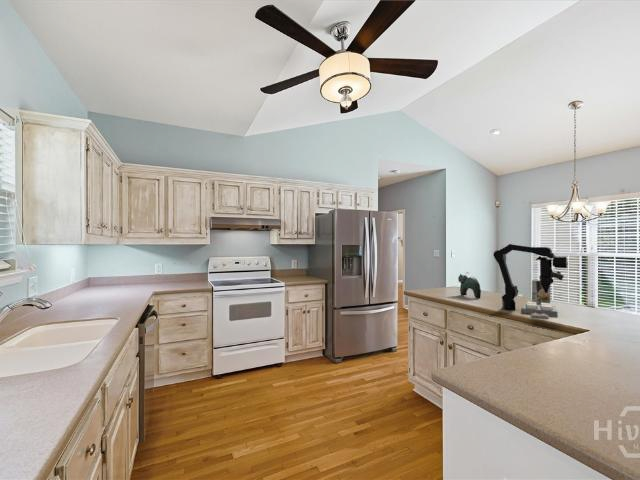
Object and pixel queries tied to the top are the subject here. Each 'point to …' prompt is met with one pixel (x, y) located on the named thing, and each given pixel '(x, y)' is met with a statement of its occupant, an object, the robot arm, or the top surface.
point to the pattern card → (539, 315)
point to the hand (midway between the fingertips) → (546, 292)
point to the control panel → (539, 310)
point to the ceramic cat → (469, 285)
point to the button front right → (546, 307)
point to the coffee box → (539, 293)
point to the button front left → (532, 306)
